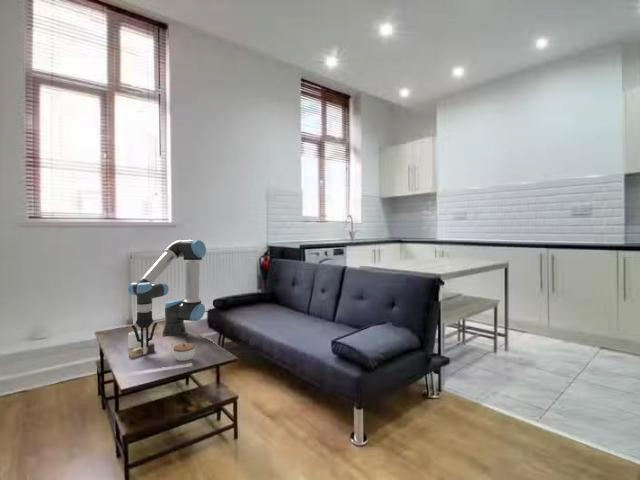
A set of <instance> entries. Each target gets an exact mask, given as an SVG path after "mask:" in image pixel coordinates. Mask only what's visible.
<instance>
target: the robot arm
mask: <svg viewBox="0 0 640 480" xmlns="http://www.w3.org/2000/svg"><path fill="white" fill-rule="evenodd" d="M206 254H207V247H206V245H205V243H204V242H203V241H202V240H200V239H183V238H182V239H181V238H180V239H178V240H176V241H173V242H172V243H171V244H169V245H168V246H167V247H165V249H164V250H163V252H162V254H161V256H159V258H157V260H156V261H155V262H154V264H153V265H152V266H151V267H150V268H148V270H147V271H146V272H145V273H144V275H142V276H141V278H140V279H139V280H138V281H137V282H136V281H135V282H131V283H130V284H129V286H128V293H129V295H132V296H135V297H136V311H137V312H136V321H135V323H133V324H131V328H132V329H133V331H134V332H135V335H136V339H137V342H141V348H143V355H147V354H146V347H148V346H149V343H150V341H152V340H153V337H154V334H155V333H154V332H155V329H156V327H157V325H158V322H157V321H154V319H153V311H152V310H153V299H155V298H162V297H164V296H166V295H167V294H168V293H169V286H168V285H167V284H166V283H165V282H162V283H161V282H159V283H155V282H156V281H157V280H158V279H159V278H160V276H161V275H162V274H163V273H164V272H165V271H166V270H167V268H168V267H169V266H170V265H171V264H172V262H175V261H176V260H177V259H179V258H181V257H183V261H184V262H185V291H184V293H185V296H184V299H173V300H169V301H167V302H166V303H165V305H164V306H165V307H164V326H163V329H162V332H161V335H162V337H173V336H179V335H180V336H182V335H183V336H185V335H186V334H187V327H186V326H185V325H186V324H185V321H187V322H198V321H201V320H202V319H203V317H204V315H205V311H206V307H205V305H204V303H202V299H201V298H200V266H201V265H200V263H201V261H203V258H204V257H205V255H206ZM151 325H152V329H151V332H150V335H149V330H150V329H149V327H151ZM137 326H138V327H139V329H140V331H141V339H140V338H139V335H138V332H137V331H138V329H137ZM144 329H145V340H144V341H143V331H144Z"/></svg>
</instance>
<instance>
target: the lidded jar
mask: <svg viewBox="0 0 640 480" xmlns="http://www.w3.org/2000/svg"><path fill="white" fill-rule="evenodd" d="M195 346H196V345H195V344H194V343H190V342H189V343H188V342H187V343H186V342H184V343H180V344H176V345H175V346H174V347H173V356H174V358H175V360H176V361H180V362H182V361H189V360H192V359H193V357H194V355H195Z"/></svg>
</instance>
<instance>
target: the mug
mask: <svg viewBox="0 0 640 480" xmlns="http://www.w3.org/2000/svg"><path fill="white" fill-rule="evenodd" d="M137 332H138V335H139V338H140V339H141V330H137ZM144 332H145V331H144V330H143V341H145V333H144ZM127 337H128V338H127V339H128V346H127V347H128V349H129V350H132V349H136V348H139V347H141V342H137V339H136V335H135V332H134V330H133V331H130V332H128V336H127Z"/></svg>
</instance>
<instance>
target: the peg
mask: <svg viewBox="0 0 640 480" xmlns="http://www.w3.org/2000/svg"><path fill="white" fill-rule="evenodd" d="M154 352H155V343H154V342H153V343H152V342H149V346H148V347H146V354H145V355H147V354H152V353H154ZM143 355H144V354H143V348H141V347H139V348H136V349H129V350H128V358H129V359H133V358H137V357H140V356H143Z"/></svg>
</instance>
